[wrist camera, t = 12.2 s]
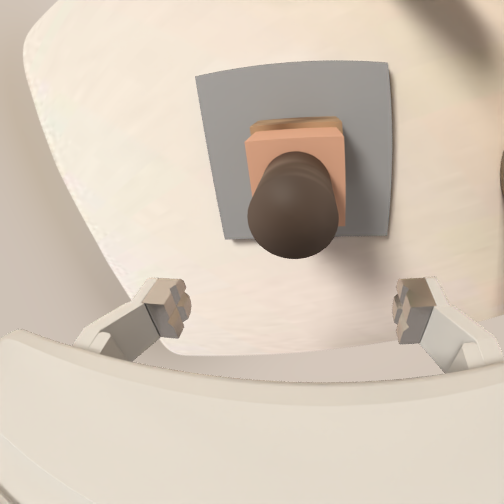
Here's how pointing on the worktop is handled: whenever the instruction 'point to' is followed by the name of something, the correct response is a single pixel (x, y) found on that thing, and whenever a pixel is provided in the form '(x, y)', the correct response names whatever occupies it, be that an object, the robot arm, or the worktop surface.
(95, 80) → the worktop surface
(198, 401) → the robot arm
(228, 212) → the slate mat
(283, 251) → the espresso cylinder
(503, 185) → the plant pot
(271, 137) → the terracotta top block
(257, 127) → the walnut base block
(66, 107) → the worktop surface
